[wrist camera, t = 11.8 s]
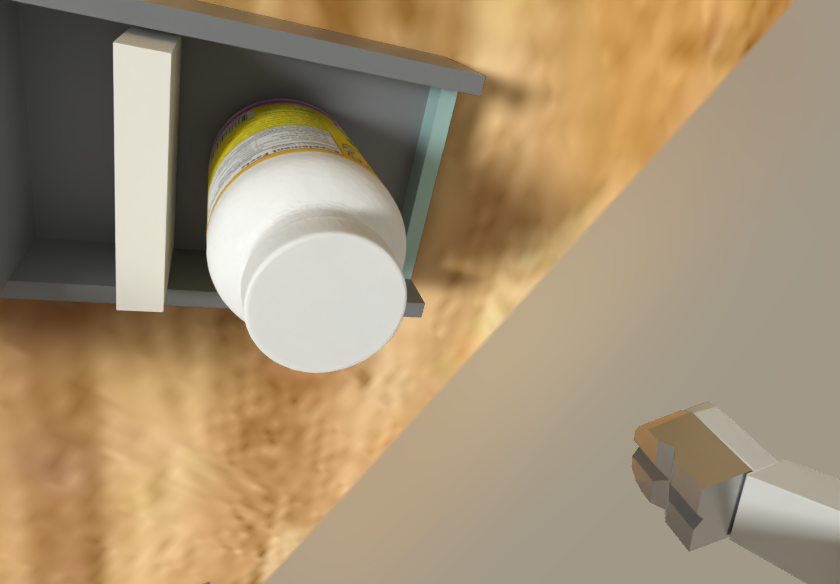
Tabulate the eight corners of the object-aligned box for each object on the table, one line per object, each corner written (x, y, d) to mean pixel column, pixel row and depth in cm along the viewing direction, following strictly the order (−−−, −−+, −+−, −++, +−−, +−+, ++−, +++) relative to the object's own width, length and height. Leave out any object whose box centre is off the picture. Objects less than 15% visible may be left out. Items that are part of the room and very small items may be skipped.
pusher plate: (173, 245, 27) (163, 312, 22) (136, 242, 26) (116, 310, 21) (182, 30, 23) (171, 53, 18) (137, 21, 22) (113, 41, 17)
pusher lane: (395, 270, 32) (433, 339, 27) (22, 242, 26) (-35, 325, 20) (446, 57, 27) (506, 86, 22) (-5, -46, 21) (-91, -43, 15)
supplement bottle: (355, 226, 29) (433, 383, 19) (219, 238, 27) (222, 419, 17) (352, 91, 26) (446, 190, 15) (197, 94, 24) (183, 209, 14)
